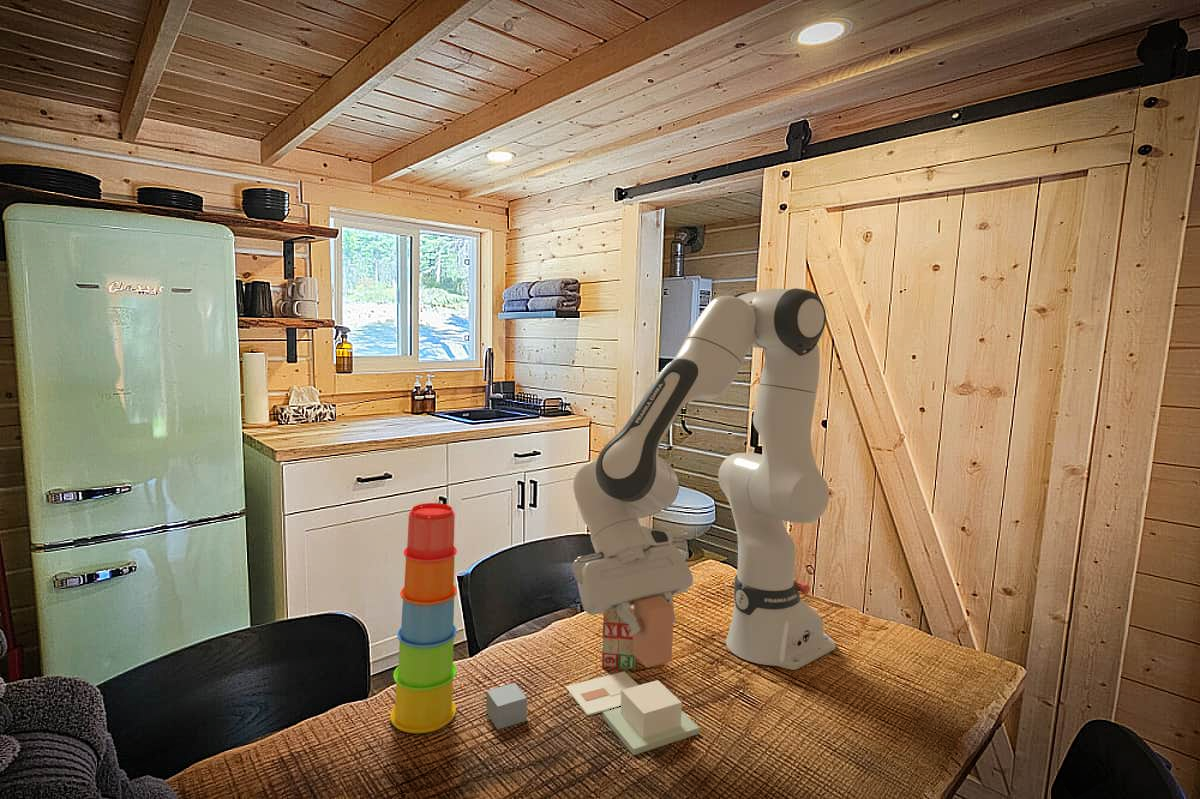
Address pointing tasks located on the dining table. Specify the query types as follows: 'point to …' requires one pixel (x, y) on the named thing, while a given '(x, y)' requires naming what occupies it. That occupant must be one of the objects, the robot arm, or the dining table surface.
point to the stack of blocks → (617, 641)
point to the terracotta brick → (654, 631)
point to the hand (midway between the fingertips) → (655, 627)
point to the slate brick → (506, 705)
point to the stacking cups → (427, 623)
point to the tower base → (650, 741)
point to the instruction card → (601, 692)
